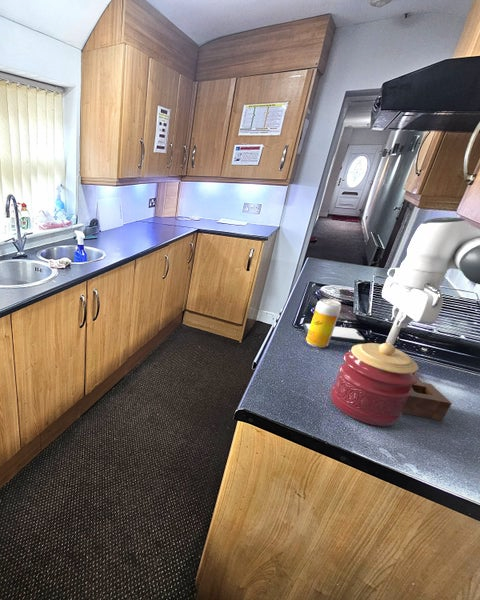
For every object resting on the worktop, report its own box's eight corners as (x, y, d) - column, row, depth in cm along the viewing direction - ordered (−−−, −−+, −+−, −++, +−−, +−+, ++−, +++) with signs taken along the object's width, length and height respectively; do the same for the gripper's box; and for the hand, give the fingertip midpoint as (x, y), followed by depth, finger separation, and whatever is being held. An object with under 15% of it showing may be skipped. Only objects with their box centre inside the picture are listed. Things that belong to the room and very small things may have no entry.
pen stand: (422, 400, 81) (431, 383, 79) (442, 420, 75) (452, 403, 73) (385, 393, 83) (392, 377, 82) (401, 412, 77) (409, 395, 75)
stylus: (390, 345, 96) (409, 301, 91) (393, 348, 95) (413, 303, 90) (383, 344, 97) (401, 300, 92) (386, 346, 95) (405, 302, 90)
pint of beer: (305, 337, 110) (318, 296, 104) (327, 342, 107) (342, 300, 101) (304, 345, 106) (318, 303, 100) (327, 350, 103) (342, 307, 97)
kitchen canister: (326, 383, 86) (348, 324, 79) (390, 400, 80) (419, 338, 73) (331, 414, 76) (356, 350, 69) (405, 436, 70) (441, 368, 63)
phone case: (308, 338, 111) (365, 345, 106) (309, 333, 110) (367, 340, 105) (301, 326, 119) (354, 332, 114) (302, 322, 118) (356, 328, 113)
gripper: (459, 293, 78) (434, 343, 83) (412, 269, 96) (393, 312, 101) (426, 289, 80) (404, 339, 85) (385, 267, 98) (369, 309, 103)
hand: (398, 324), depth 93 cm, fingers closed on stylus, 2 cm apart
